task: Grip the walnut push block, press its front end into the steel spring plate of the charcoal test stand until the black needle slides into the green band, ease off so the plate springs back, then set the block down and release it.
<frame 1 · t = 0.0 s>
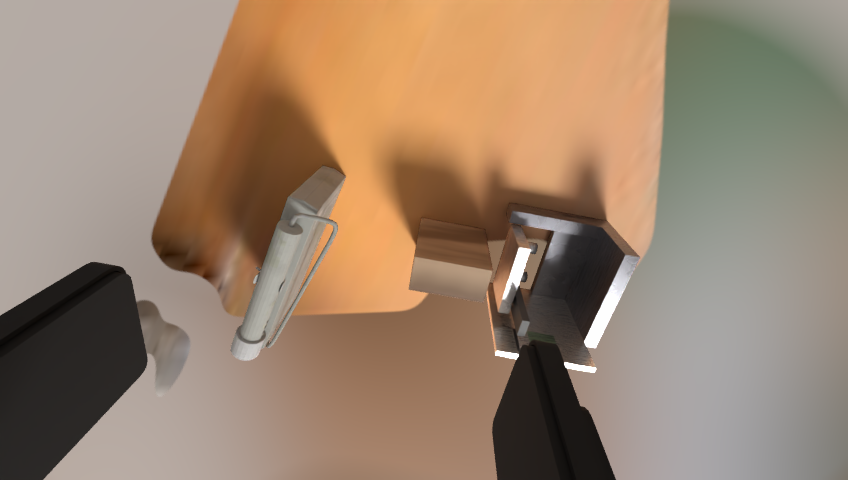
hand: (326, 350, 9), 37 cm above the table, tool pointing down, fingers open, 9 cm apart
needle marker: (515, 300, 45), point 6 cm above the table, slide at 0.0 cm
push block: (449, 237, 49), on the table
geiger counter: (307, 252, 51), on the table
test stand: (542, 254, 49), on the table
spring plate: (516, 269, 44), point 5 cm above the table, slide at 0.0 cm
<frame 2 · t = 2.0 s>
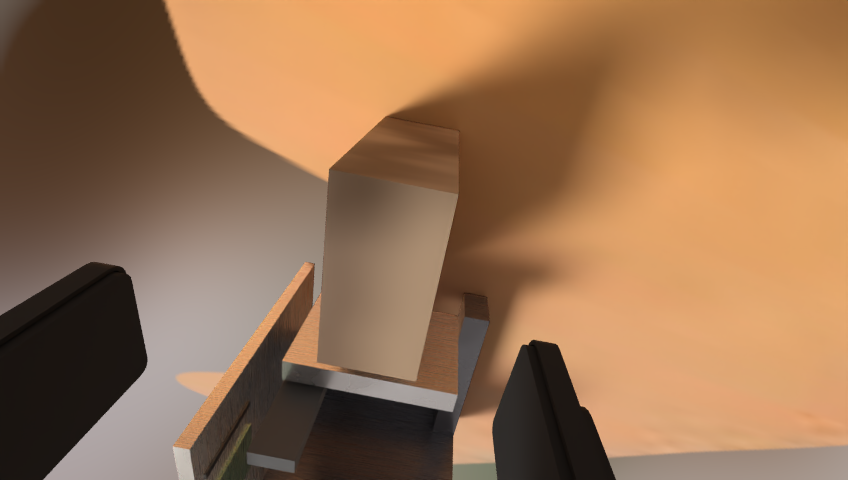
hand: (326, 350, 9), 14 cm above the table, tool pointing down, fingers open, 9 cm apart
needle marker: (312, 371, 20), point 7 cm above the table, slide at 0.0 cm
push block: (410, 193, 22), on the table
test stand: (384, 348, 28), on the table
spring plate: (378, 354, 21), point 5 cm above the table, slide at 0.0 cm
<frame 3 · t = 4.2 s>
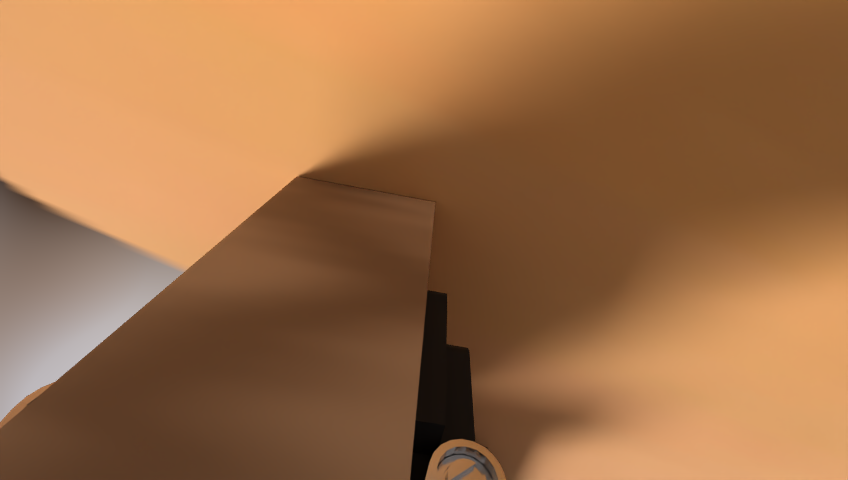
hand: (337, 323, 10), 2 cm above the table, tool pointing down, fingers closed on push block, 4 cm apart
push block: (353, 302, 13), on the table, touching gripper
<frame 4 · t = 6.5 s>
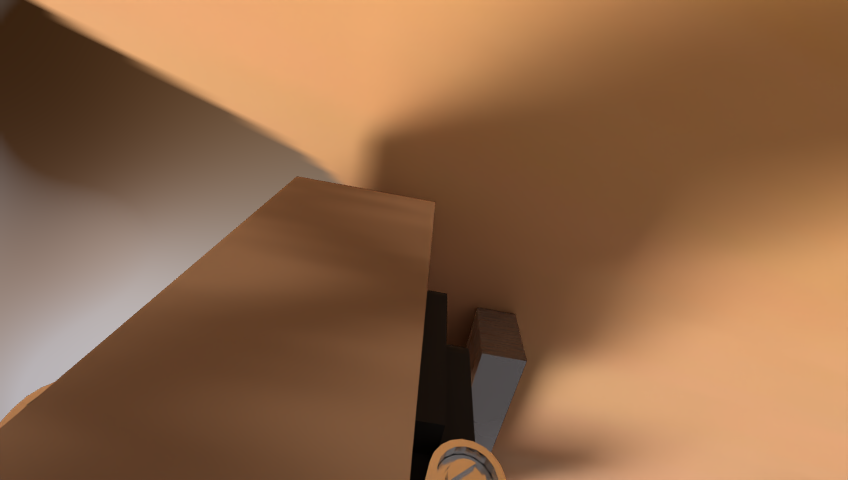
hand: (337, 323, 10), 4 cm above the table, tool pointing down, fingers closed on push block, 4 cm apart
push block: (353, 302, 13), point 2 cm above the table, touching gripper, spring plate
test stand: (349, 396, 18), on the table
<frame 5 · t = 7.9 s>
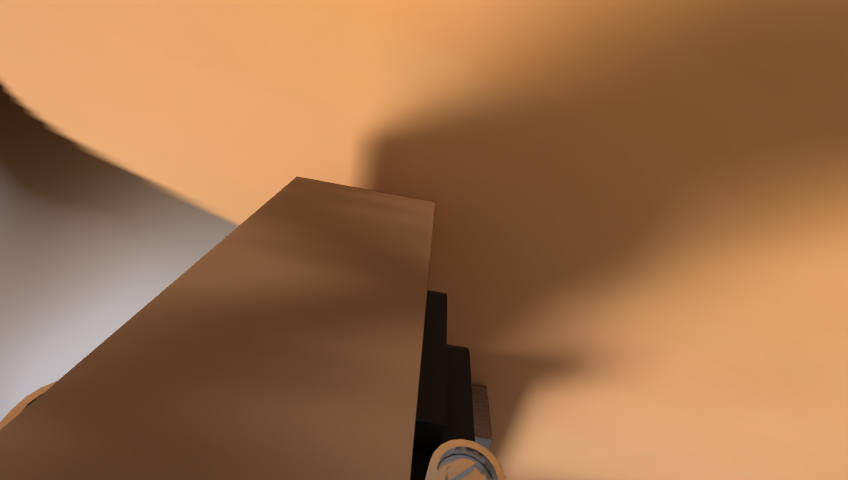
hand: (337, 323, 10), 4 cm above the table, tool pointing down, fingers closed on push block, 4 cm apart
push block: (353, 302, 13), point 2 cm above the table, touching gripper
test stand: (338, 451, 19), on the table
when the fingers open (3 cm above the table, at t = 9.3 s): push block stays where it is, on the table.
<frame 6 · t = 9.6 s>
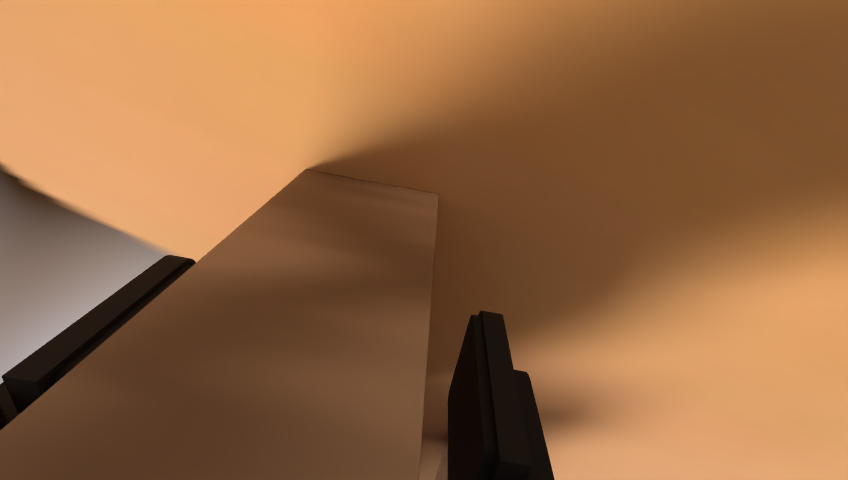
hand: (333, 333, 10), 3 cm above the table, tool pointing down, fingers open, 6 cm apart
push block: (359, 292, 13), on the table
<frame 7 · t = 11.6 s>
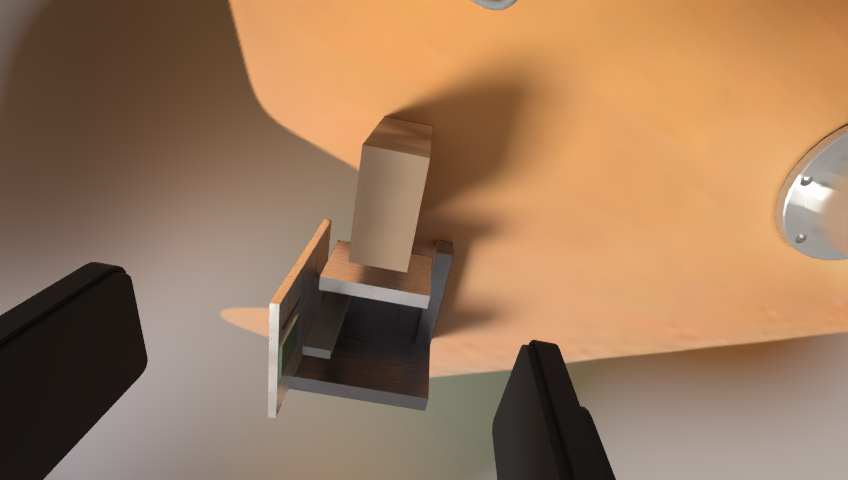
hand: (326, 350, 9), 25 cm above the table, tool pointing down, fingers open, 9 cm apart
needle marker: (333, 309, 32), point 7 cm above the table, slide at 2.5 cm
push block: (400, 168, 33), on the table
test stand: (380, 284, 39), on the table
spring plate: (378, 279, 32), point 5 cm above the table, slide at 0.4 cm
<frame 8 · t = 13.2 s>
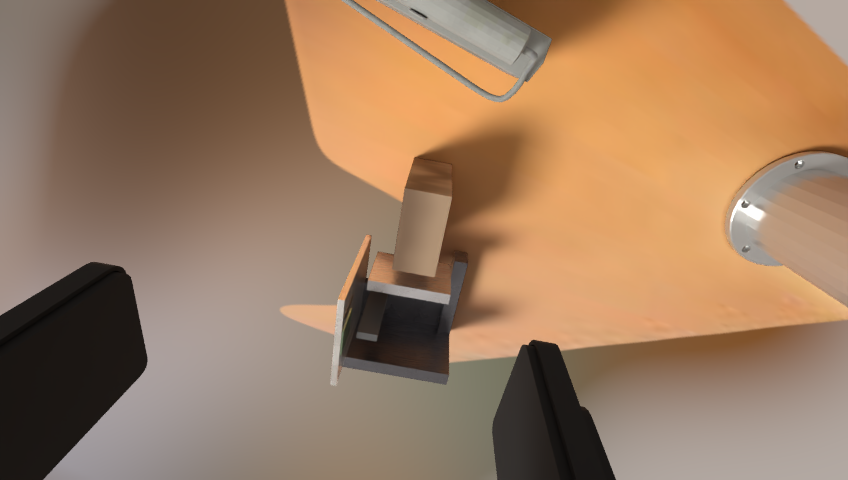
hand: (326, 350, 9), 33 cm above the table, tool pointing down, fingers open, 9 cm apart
needle marker: (375, 305, 42), point 7 cm above the table, slide at 2.5 cm
push block: (426, 195, 43), on the table
test stand: (408, 285, 48), on the table
spring plate: (410, 282, 42), point 5 cm above the table, slide at 0.4 cm
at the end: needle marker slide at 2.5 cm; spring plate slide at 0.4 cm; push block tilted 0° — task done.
